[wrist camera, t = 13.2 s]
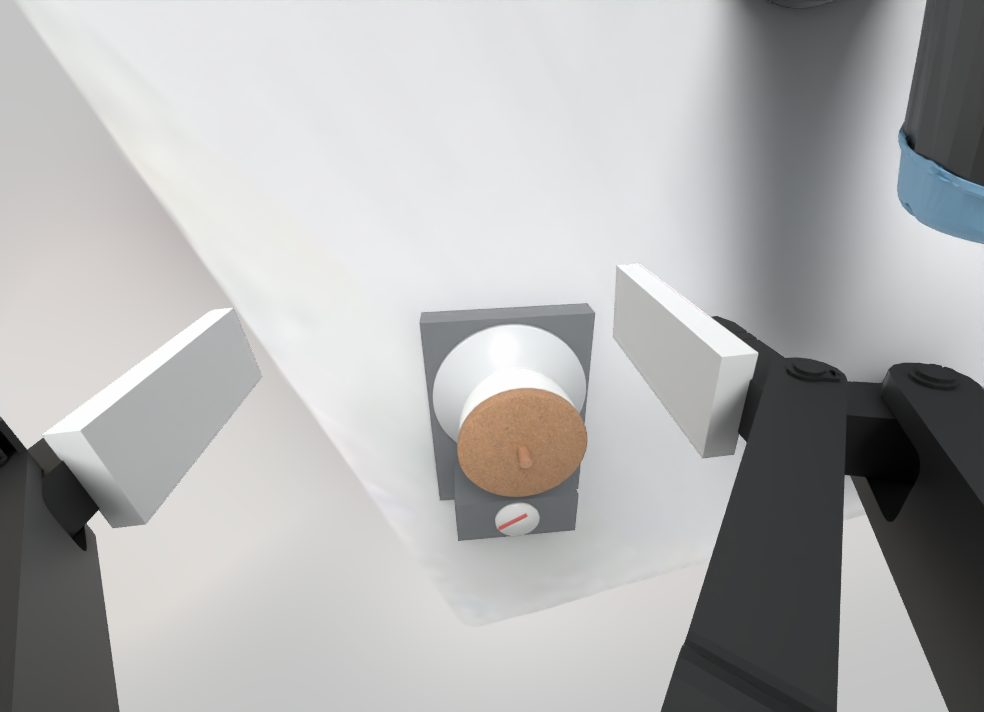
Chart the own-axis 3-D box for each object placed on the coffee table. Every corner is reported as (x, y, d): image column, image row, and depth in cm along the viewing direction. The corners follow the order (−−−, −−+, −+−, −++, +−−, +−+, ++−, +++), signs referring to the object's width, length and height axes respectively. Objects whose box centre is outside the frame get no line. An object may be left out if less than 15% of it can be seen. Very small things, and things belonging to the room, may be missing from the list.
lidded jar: (547, 331, 38) (575, 387, 30) (577, 420, 43) (607, 488, 35) (438, 371, 39) (435, 436, 31) (479, 453, 44) (485, 527, 36)
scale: (587, 303, 41) (620, 344, 33) (572, 473, 51) (594, 535, 44) (421, 312, 40) (414, 357, 32) (440, 484, 50) (438, 550, 42)
